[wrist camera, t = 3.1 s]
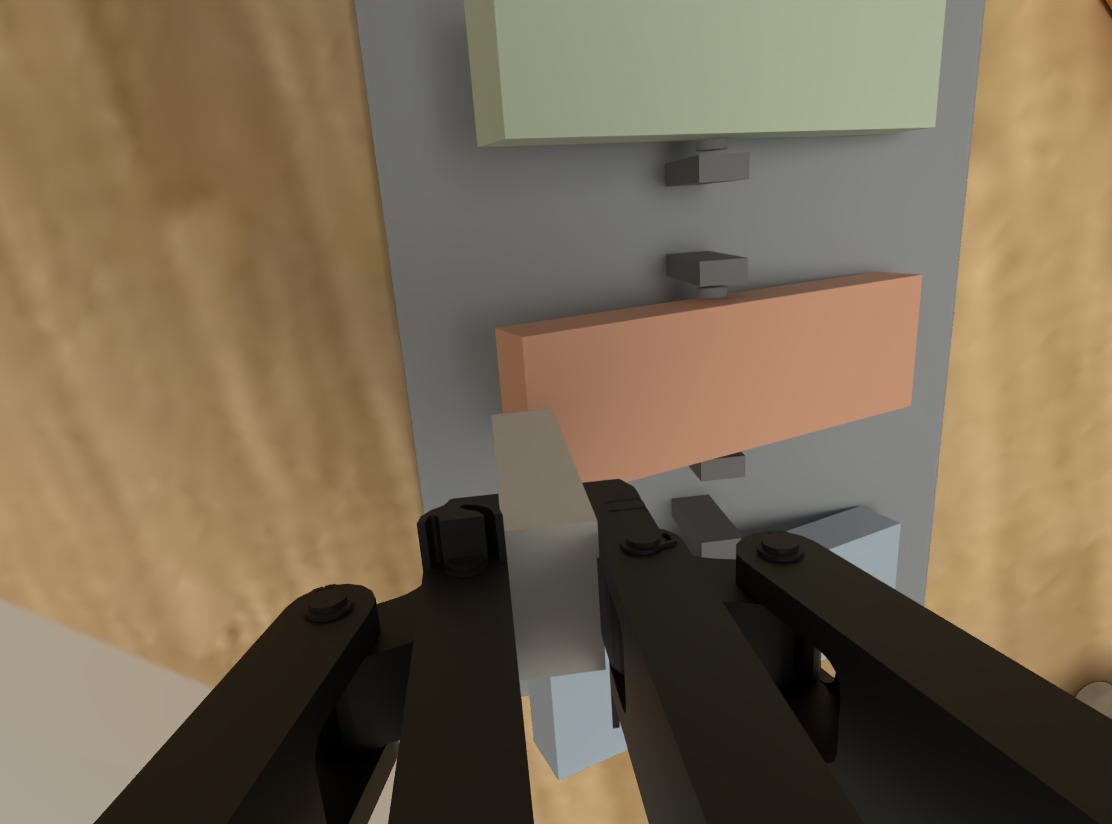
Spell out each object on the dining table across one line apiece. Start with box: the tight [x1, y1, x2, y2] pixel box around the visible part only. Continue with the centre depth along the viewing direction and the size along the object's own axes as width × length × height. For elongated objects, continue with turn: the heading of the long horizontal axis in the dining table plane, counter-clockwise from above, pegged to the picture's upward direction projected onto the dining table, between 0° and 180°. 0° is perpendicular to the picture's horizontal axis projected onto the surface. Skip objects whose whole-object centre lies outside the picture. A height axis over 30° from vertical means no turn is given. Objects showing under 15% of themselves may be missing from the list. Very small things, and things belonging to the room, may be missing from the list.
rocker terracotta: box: [495, 272, 922, 483], centre depth 24 cm, size 6×16×2 cm, turn 94°
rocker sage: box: [464, 0, 946, 151], centre depth 21 cm, size 6×16×2 cm, turn 94°
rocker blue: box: [528, 506, 901, 780], centre depth 26 cm, size 6×16×2 cm, turn 94°
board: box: [354, 0, 985, 696], centre depth 25 cm, size 30×22×5 cm
